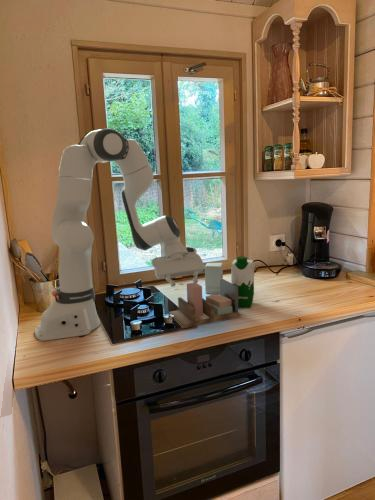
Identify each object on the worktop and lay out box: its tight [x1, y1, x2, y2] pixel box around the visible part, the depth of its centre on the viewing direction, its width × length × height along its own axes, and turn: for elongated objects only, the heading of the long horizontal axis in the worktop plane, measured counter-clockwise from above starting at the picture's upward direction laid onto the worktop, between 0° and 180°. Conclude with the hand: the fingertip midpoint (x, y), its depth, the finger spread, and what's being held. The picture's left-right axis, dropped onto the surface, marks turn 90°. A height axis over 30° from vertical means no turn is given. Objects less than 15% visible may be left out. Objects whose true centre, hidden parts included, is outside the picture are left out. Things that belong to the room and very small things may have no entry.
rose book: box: [186, 282, 203, 317], centre depth 140 cm, size 4×6×11 cm, turn 23°
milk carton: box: [230, 256, 255, 309], centre depth 151 cm, size 9×9×20 cm
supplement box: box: [204, 262, 224, 295], centre depth 171 cm, size 7×7×13 cm
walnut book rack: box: [168, 296, 241, 329], centre depth 142 cm, size 23×14×6 cm, turn 113°
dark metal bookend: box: [219, 279, 239, 313], centre depth 145 cm, size 1×12×10 cm, turn 22°
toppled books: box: [205, 294, 232, 315], centre depth 144 cm, size 7×10×4 cm, turn 23°
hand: (184, 284), depth 148 cm, fingers open, 8 cm apart
